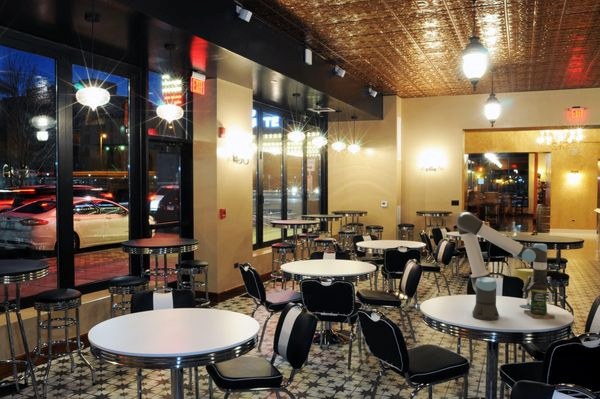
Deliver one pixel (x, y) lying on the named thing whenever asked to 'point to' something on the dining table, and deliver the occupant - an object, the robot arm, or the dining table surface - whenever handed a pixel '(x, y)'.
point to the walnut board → (538, 315)
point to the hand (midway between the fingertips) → (539, 303)
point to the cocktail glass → (524, 278)
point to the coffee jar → (538, 299)
